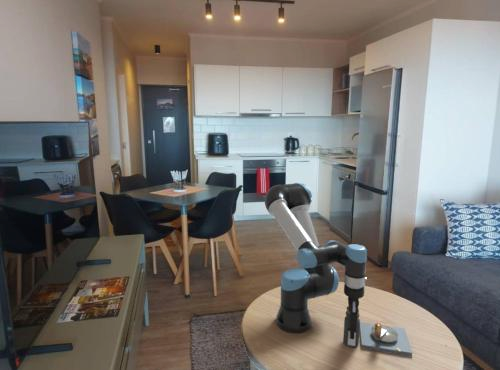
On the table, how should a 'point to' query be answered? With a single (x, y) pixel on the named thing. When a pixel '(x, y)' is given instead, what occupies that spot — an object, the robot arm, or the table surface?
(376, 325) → the dial
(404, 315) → the table surface
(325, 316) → the table surface
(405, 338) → the board
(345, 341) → the bottle
